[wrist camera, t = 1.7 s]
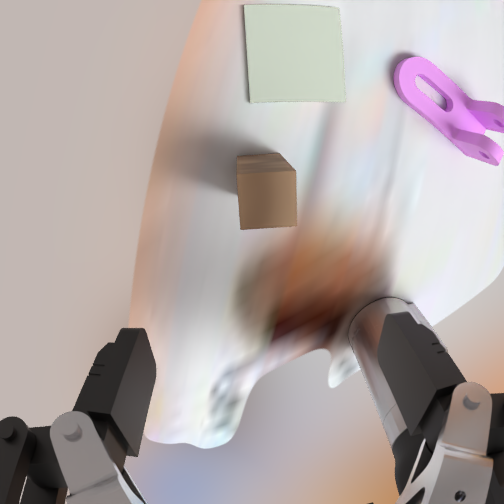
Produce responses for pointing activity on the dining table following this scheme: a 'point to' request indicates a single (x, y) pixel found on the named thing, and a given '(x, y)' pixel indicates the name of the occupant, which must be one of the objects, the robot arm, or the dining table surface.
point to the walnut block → (266, 191)
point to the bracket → (452, 110)
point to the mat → (294, 53)
